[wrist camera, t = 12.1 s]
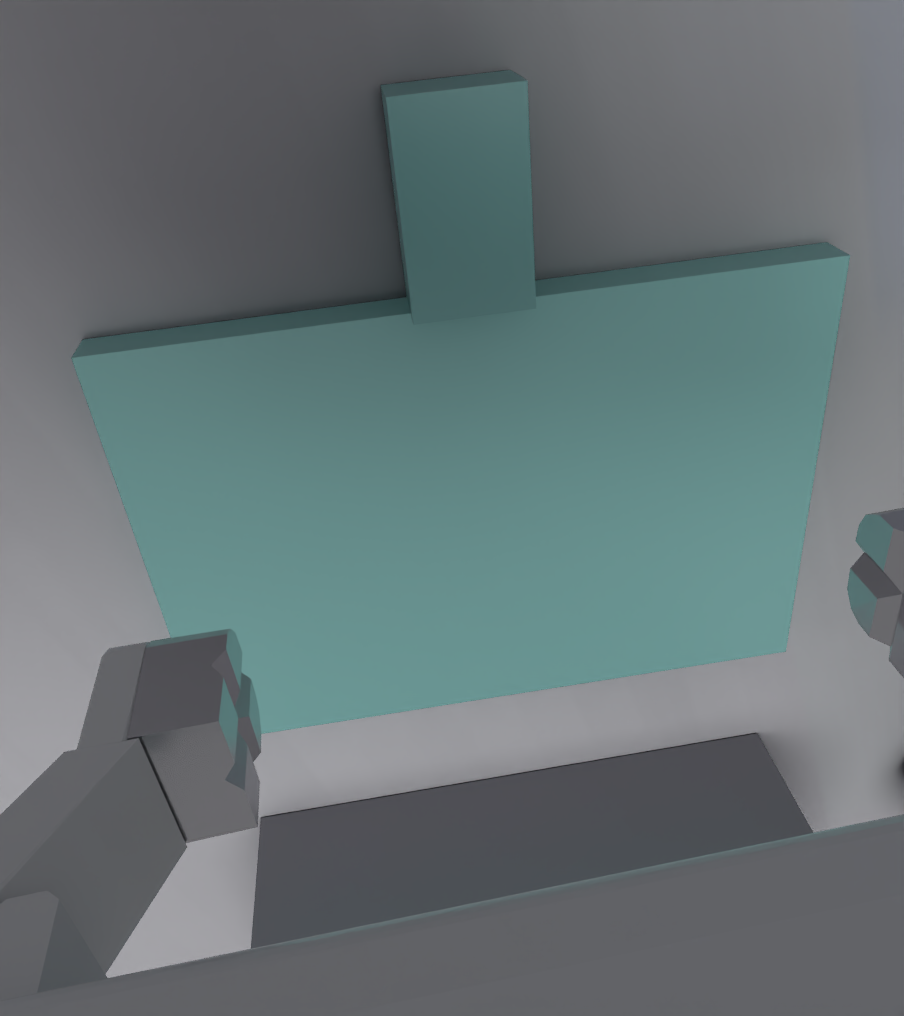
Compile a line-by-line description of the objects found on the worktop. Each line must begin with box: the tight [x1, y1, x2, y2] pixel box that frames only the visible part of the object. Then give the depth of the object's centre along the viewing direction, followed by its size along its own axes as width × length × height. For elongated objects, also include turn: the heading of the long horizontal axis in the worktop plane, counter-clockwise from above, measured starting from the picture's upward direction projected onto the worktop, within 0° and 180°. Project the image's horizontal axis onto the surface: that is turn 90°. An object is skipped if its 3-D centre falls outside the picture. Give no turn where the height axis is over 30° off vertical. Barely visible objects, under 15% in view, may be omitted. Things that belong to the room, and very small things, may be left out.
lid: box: [71, 70, 850, 734], centre depth 24 cm, size 19×20×2 cm
